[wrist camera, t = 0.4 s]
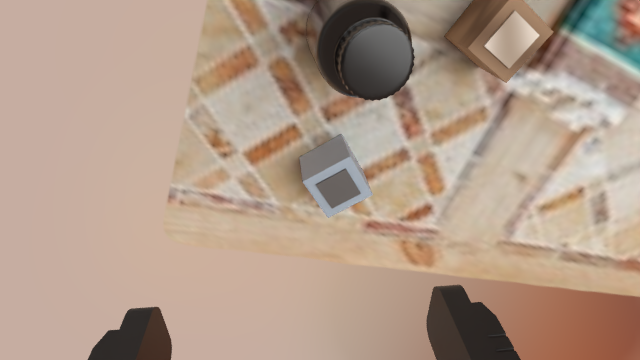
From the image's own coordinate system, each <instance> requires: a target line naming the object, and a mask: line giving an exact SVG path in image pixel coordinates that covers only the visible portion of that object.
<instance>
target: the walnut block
mask: <svg viewBox="0 0 640 360" xmlns="http://www.w3.org/2000/svg"><path fill="white" fill-rule="evenodd" d="M552 33H553V31H552V30H551V29H550V28H549V27H548V26H547V25H546V24H545V23H544V21H543V20H542V19H541V18H540V17H539V16H538V15H537V14H536V13H535V12H534V11H533V10H532V9H531V8H530V7H529V6H528V5H527V4H526V3H525V1H524V0H473V1H472V3H471V4H470V5H469V6H468V8H467V9H466V10H465V11H464V12H463V14H462V15H461V16H460V17H459V19H458V20H457V21H456V22H455V24H454V25H453V26H452V27H451V28H450V30H449V31H448V32H447V33H446V35H445V36H444V37H446V38H447V39H448V40H449V41H450V42H451V43H452V44H454V45H455V46H456V47H457V48H458V49H459V50H460V51H462V52H463V53H464V54H465V55H466V56H467V57H468V58H470V59H471V60H472V61H473V62H474V63H475V64H476V65H478V66H479V67H480V68H482V69H483V70H485V71H487V72H489V73H490V74H492V75H494V76H495V77H497V78H499V79H501V80H502V81H504V82H506V83H507V82H508V80H509V79H510V78H511V77H512V76H513V75H514V74H515V73H516V72H517V71H518V70H519V69H520V68H521V67H522V65H523V64H524V63H525V62H526V61H527V60H528V59H529V58H530V57H531V56H532V55H533V54H534V53H535V51H536V50H537V49H538V48H539V47H540V46H541V45H542V44H543V43H544V42H545V41H546V40H547V39H548V38H549V36H550V35H551V34H552Z"/></svg>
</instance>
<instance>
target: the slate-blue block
mask: <svg viewBox="0 0 640 360" xmlns="http://www.w3.org/2000/svg"><path fill="white" fill-rule="evenodd" d="M299 159H300V167H301V174H302V182H303V183H304V185H305V186H306V187H307V189H308V190H309V192H310V193H311V195H312V196H313V197H314V199H315V200H316V202H317V203H318V204H319V206H320V207H321V209H322V210H323V212H324V213H325V214H326V216H327V217H328V218H329V217H331V216H333V215H335V214H337V213H339V212H341V211H342V210H344V209H346V208H348V207H350V206H352V205H354V204H356V203H358V202H360V201H362V200H364V199H366V198H368V197H370V196H372V195H373V194H372V192H371V189H370V187H369V184H368V182H367V179H366V177H365V174H364V172H363V170H362V168H361V166H360V165H359V163H358V161H357V159H356V158H355V156H354V154H353V153H352V151H351V149H350V147H349V146H348V144H347V142H346V141H345V139H344V137H343V135H342V134H340V135H339V136H337V137H335V138H333V139H331V140H329V141H328V142H326V143H324V144H322V145H320V146H319V147H317V148H315V149H313V150H311V151H310V152H308V153H306V154H304V155H302V156H300V157H299Z"/></svg>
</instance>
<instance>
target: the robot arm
mask: <svg viewBox="0 0 640 360" xmlns="http://www.w3.org/2000/svg"><path fill="white" fill-rule="evenodd" d="M427 332H428V337H429V340H430V343H431V346H432V348H433V351H434V354H435V357H436V359H437V360H521V359H520V358H519V356H518V354H517V352H516V351H514V347H513V345H512V344H511V342H510V340H509V338H508V337H506V333H505V331H504V330H503V328H502V326H501V324H500V322H499V321H498V319H497V317H496V316H495V315H494V314H493V313H492V312H491V311H490V310H489V309H488V308H487V307H486V306H485V305H483V303H481V302H475V303H471V302H470V300H469V298H468V296H467V294H466V292H465V290H464V288H463V287H462V286H461V285H450V286H436V287H434V288H433V292H432V297H431V301H430V306H429V311H428V315H427ZM171 353H172V345H171V338H170V335H169V333H168V330H167V327H166V324H165V321H164V319H163V316H162V313H161V311H160V309H159V307H148V308H135V309H130V310H128V311H127V313H126V315H125V317H124V320H123V322H122V325H121V327H120V329H119V330H110V331H108V332H107V333H106V334H105V335H104V336H103V338H102V339H101V340H100V341H99V342H98V343H97V344H96V345H95V347H94V348H93V349H92V352H91V354H90V356H89V358H88V360H171Z"/></svg>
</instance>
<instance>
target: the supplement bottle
mask: <svg viewBox="0 0 640 360" xmlns="http://www.w3.org/2000/svg"><path fill="white" fill-rule="evenodd" d="M306 36H307V42H308V45H309V48H310V51H311V53H312V55H313V57H314V60H315V62H316V64H317V66H318V68H319V71H320V72H321V74H322V76H323V78H324V79H325V80H326V82H327V83H328V84H329V85H330V86H331V87H332V88H333V89H335V90H336V91H338V92H339V93H341V94H344V95H346V96H350V97H355V98H364V99H365V100H369V99H370V100H372V101H373V100H376V99H377V100H381V99H383V98H387V97H389V96H390V95H394V94H395V92H397V91H399V90H400V89H401V87H403V86H404V85H405V83H406V81H407V80H408V79H409V76H410V74H411V73H412V68H413V66H414V62H413V61H414V58H415V57H414V54H413V53H414V49H413V47H412V39H411V33H410V29H409V26H408V23H407V21H406V19H405V18H404V16H403V15H402V14H401V12H400V11H399V10H398V9H397V8H396V7H394V6H393V5H392V4H390V3H389V2H387V1H385V0H319V1H318V2H317V3H316V4H315V5H314V7H313V9H312V10H311V12H310V15H309V17H308V21H307V27H306Z"/></svg>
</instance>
